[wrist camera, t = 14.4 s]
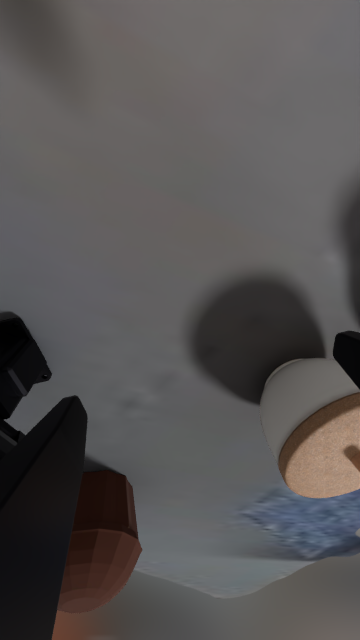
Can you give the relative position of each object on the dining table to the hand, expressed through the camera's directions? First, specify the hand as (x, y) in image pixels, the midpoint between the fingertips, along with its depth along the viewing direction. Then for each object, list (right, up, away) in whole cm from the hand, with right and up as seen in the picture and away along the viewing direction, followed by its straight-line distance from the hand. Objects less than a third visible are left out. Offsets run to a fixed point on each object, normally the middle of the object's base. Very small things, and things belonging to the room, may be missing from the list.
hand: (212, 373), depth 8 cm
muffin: (-12, -21, +23) cm, 34 cm away
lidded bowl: (+12, -6, +20) cm, 24 cm away
